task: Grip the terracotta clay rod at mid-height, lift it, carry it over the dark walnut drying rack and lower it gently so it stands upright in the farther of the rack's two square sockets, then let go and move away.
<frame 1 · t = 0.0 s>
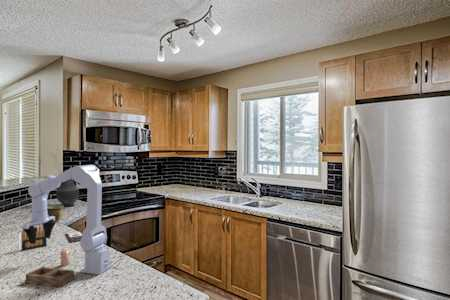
hand: (40, 240, 132), 10 cm above the countertop, tool pointing down, fingers open, 7 cm apart
ammunition clip: (34, 248, 152), on the countertop
pitcher: (69, 205, 257), on the countertop
ceramic cup: (53, 221, 204), on the countertop
clay rod: (64, 265, 130), on the countertop
rack: (50, 280, 115), on the countertop
chocolate bar: (76, 238, 169), on the countertop
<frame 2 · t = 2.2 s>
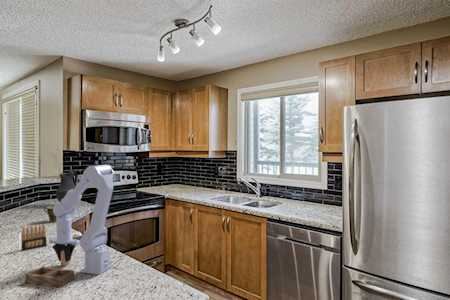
hand: (64, 260, 130), 2 cm above the countertop, tool pointing down, fingers closed on clay rod, 3 cm apart
clay rod: (64, 265, 130), on the countertop, touching gripper
everything else where it was.
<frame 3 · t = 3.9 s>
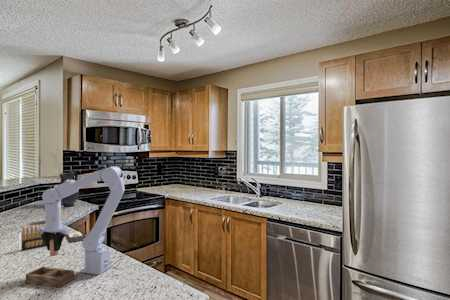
hand: (53, 250, 123), 9 cm above the countertop, tool pointing down, fingers closed on clay rod, 3 cm apart
clay rod: (54, 254, 123), point 7 cm above the countertop, touching gripper
everything else where it was.
when the fingers open (4 cm above the countertop, at t = 5.8 s): clay rod drops 1 cm, resting on rack.
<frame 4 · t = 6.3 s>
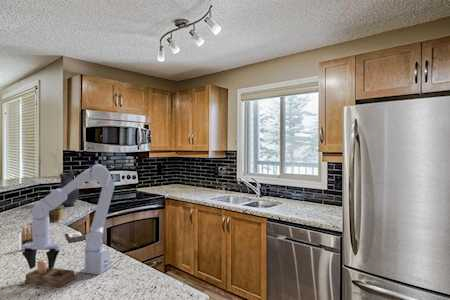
hand: (41, 267, 116), 4 cm above the countertop, tool pointing down, fingers open, 7 cm apart
clay rod: (42, 276, 116), point 1 cm above the countertop, touching rack
everything else where it was.
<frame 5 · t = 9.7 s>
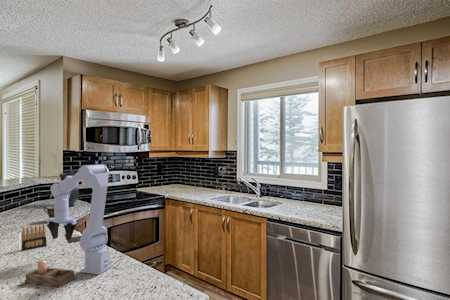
hand: (62, 239, 136), 9 cm above the countertop, tool pointing down, fingers open, 7 cm apart
nothing on the countertop moved.
at the end: clay rod 0.0 cm from the target spot on the rack, point 1.0 cm above the rack's base; clay rod tilted 1°; the gripper is holding nothing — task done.
